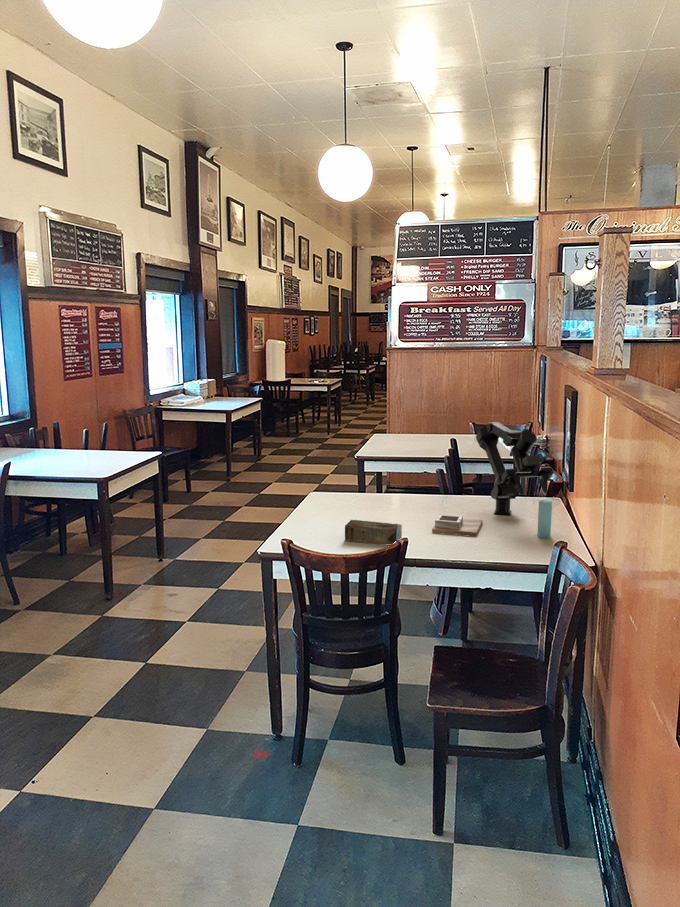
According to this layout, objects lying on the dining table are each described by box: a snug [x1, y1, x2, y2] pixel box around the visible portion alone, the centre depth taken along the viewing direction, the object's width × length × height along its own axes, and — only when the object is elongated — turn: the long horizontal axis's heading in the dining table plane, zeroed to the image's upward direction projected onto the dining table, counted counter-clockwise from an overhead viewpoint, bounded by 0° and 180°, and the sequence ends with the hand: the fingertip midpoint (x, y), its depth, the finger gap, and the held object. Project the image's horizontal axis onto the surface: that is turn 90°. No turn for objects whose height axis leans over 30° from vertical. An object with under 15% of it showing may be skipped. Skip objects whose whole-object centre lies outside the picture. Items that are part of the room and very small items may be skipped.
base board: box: [431, 514, 483, 537], centre depth 261 cm, size 18×16×4 cm
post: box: [536, 499, 553, 539], centre depth 249 cm, size 4×4×13 cm
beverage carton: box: [344, 519, 403, 545], centre depth 245 cm, size 8×19×7 cm, turn 73°
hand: (534, 493), depth 255 cm, fingers open, 9 cm apart
